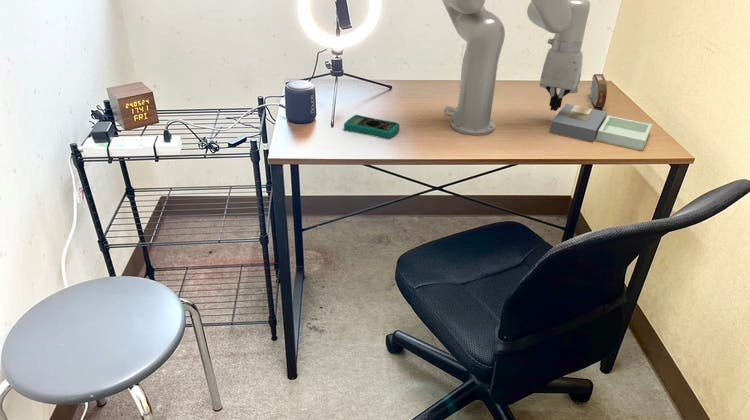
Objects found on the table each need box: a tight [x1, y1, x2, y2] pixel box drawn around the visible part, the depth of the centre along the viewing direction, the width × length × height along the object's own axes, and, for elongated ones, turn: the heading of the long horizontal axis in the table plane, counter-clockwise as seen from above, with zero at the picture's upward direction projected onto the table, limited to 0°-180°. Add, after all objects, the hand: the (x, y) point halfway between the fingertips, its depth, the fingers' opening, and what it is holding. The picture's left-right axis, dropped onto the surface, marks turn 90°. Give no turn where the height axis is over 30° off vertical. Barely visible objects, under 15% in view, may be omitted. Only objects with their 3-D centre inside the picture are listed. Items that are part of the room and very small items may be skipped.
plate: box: [548, 103, 608, 143], centre depth 159 cm, size 12×16×4 cm
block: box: [569, 104, 593, 121], centre depth 158 cm, size 5×5×2 cm
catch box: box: [595, 115, 653, 152], centre depth 154 cm, size 12×13×3 cm
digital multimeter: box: [343, 114, 401, 140], centre depth 155 cm, size 7×15×3 cm, turn 66°
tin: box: [590, 73, 608, 109], centre depth 175 cm, size 15×3×8 cm, turn 168°
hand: (554, 109), depth 161 cm, fingers closed
